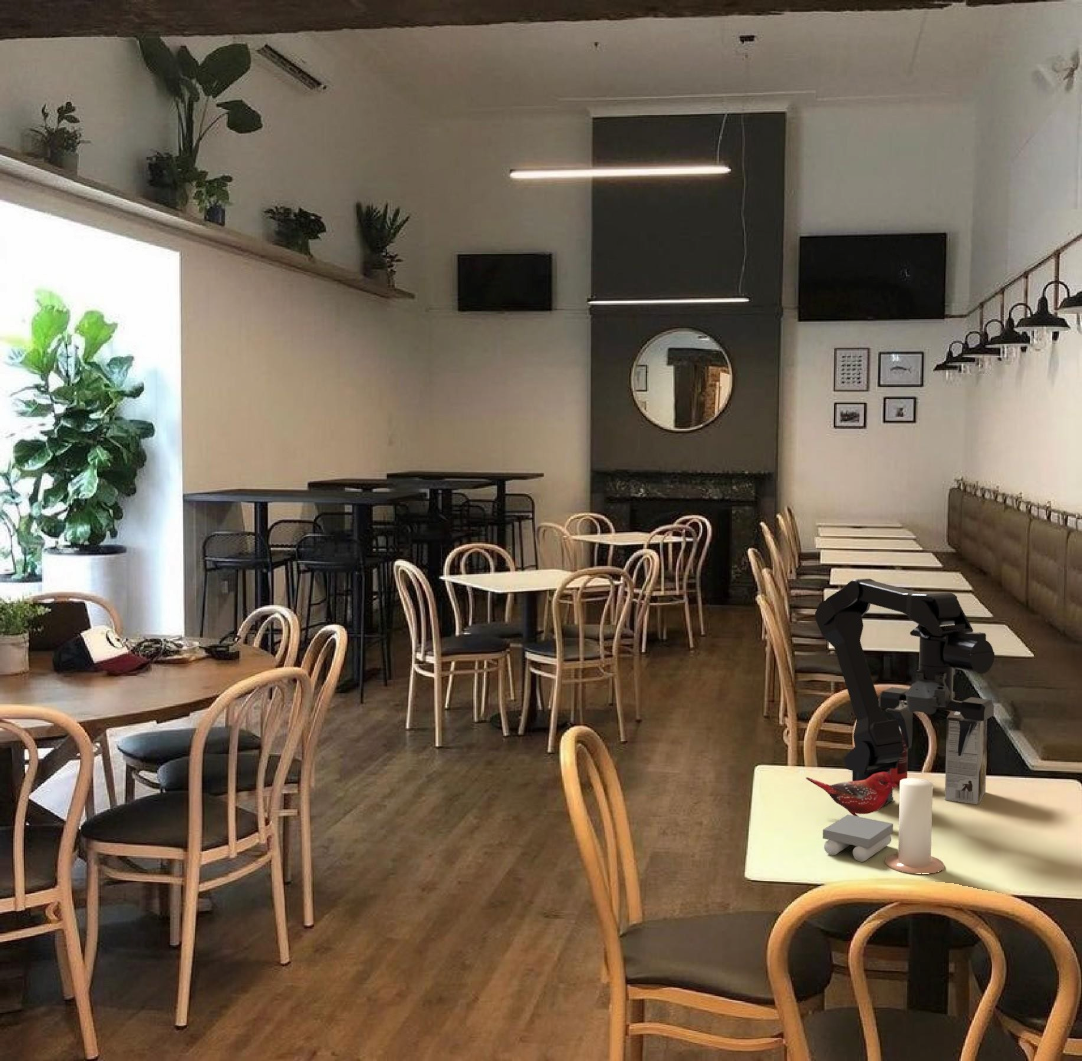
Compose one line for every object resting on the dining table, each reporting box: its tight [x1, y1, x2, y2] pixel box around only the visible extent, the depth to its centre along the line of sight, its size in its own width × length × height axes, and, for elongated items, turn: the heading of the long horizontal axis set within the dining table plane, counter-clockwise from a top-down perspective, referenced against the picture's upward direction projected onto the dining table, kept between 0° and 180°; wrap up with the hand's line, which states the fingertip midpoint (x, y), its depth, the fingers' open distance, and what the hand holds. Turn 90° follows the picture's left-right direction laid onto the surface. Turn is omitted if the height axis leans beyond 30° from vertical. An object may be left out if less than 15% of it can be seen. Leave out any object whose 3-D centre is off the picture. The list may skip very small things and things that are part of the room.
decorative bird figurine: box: [805, 772, 898, 817], centre depth 218 cm, size 3×18×10 cm, turn 50°
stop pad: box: [884, 852, 945, 875], centre depth 196 cm, size 9×9×1 cm
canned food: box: [890, 727, 909, 786], centre depth 243 cm, size 8×8×11 cm
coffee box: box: [944, 711, 988, 805], centre depth 232 cm, size 9×6×16 cm
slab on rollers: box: [822, 814, 894, 863], centre depth 203 cm, size 8×10×4 cm
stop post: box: [897, 777, 934, 868], centre depth 196 cm, size 5×5×13 cm
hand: (934, 751), depth 215 cm, fingers open, 9 cm apart
